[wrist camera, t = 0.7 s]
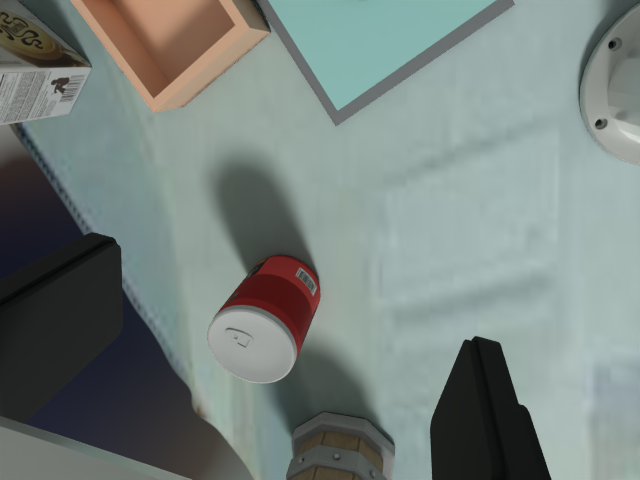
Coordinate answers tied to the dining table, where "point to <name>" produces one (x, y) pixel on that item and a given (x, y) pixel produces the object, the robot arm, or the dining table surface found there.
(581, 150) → the dining table surface
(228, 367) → the canned food
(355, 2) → the lid
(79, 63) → the coffee box
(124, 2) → the pink storage bin
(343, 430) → the tankard
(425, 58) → the mat
